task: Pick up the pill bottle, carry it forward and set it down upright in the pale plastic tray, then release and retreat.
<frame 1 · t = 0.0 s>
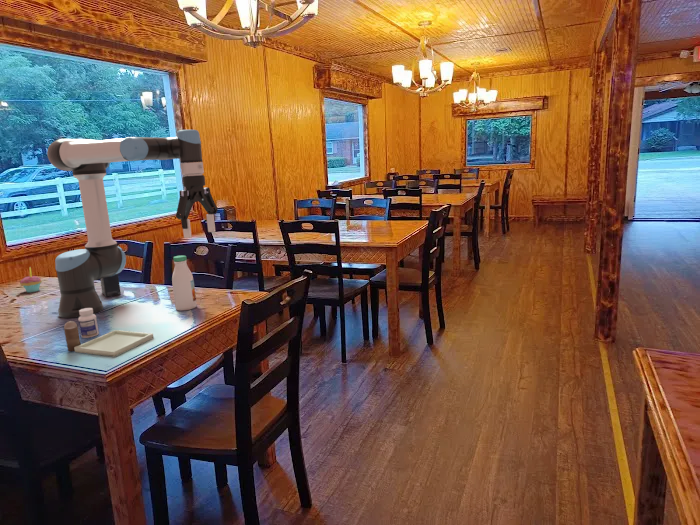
hand: (200, 234, 181), 28 cm above the table, fingers open, 13 cm apart
small box: (111, 294, 219), on the table
tray: (115, 344, 154), on the table
cupcake: (32, 291, 232), on the table
milk bottle: (186, 308, 190), on the table
pepper shaker: (74, 349, 152), on the table
pill bottle: (90, 336, 165), on the table
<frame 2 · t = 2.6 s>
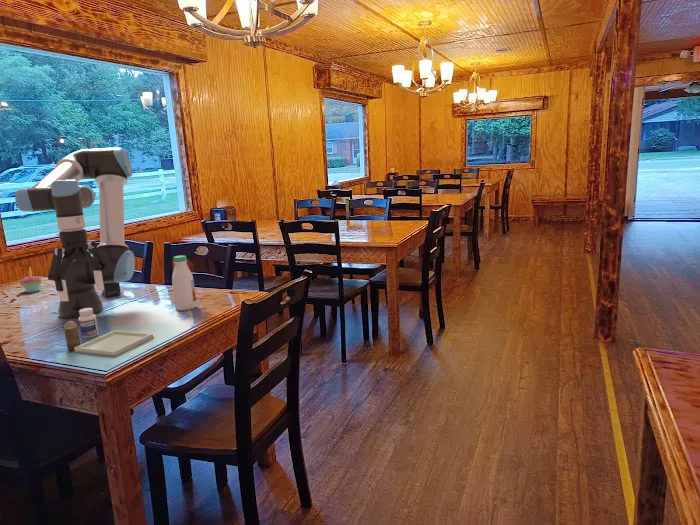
hand: (83, 295, 162), 14 cm above the table, fingers open, 13 cm apart
nothing on the table moved.
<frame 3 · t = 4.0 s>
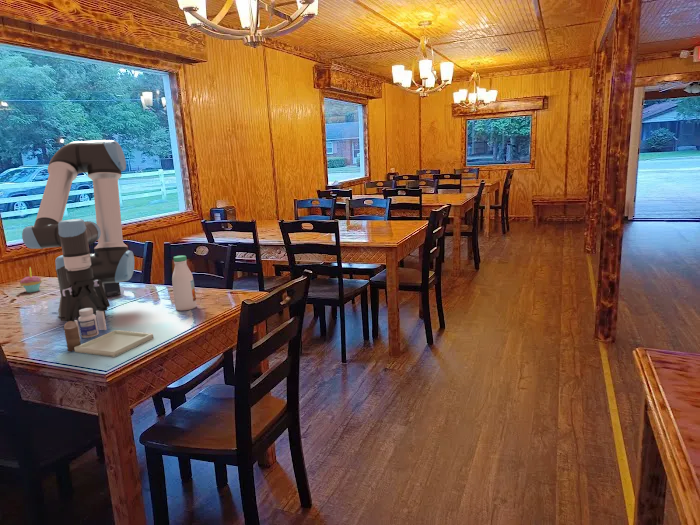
hand: (90, 334, 165), 0 cm above the table, fingers open, 9 cm apart
nothing on the table moved.
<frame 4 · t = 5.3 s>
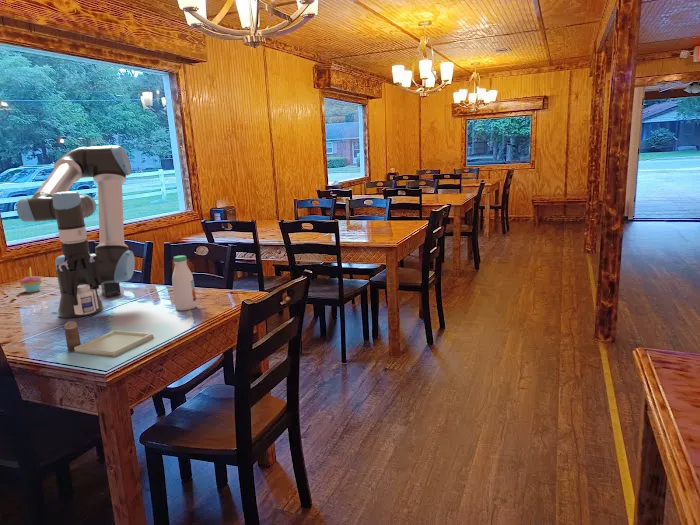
hand: (87, 311, 164), 8 cm above the table, fingers closed on pill bottle, 5 cm apart
pill bottle: (87, 312, 164), point 8 cm above the table, touching gripper
everything else where it was.
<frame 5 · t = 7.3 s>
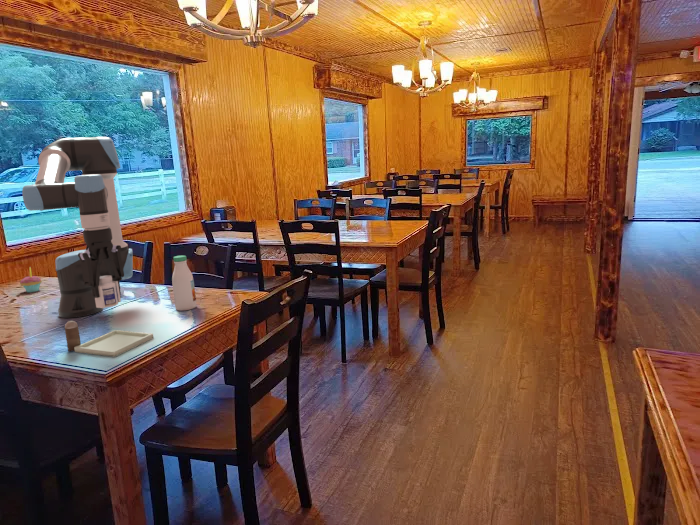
hand: (108, 304, 152), 13 cm above the table, fingers closed on pill bottle, 5 cm apart
pill bottle: (109, 306, 152), point 12 cm above the table, touching gripper
everything else where it was.
when the fingers open (2 cm above the table, at t = 9.4 s): pill bottle drops 1 cm, resting on tray.
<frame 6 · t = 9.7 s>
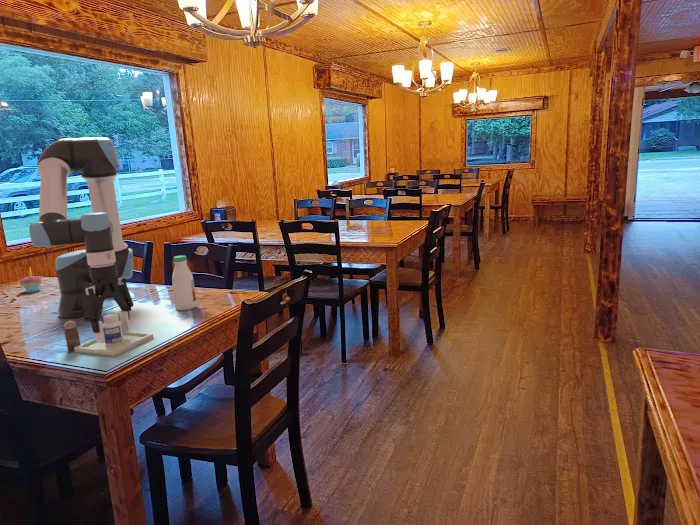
hand: (113, 336, 154), 3 cm above the table, fingers open, 9 cm apart
pill bottle: (114, 343, 154), resting on tray
everything else where it was.
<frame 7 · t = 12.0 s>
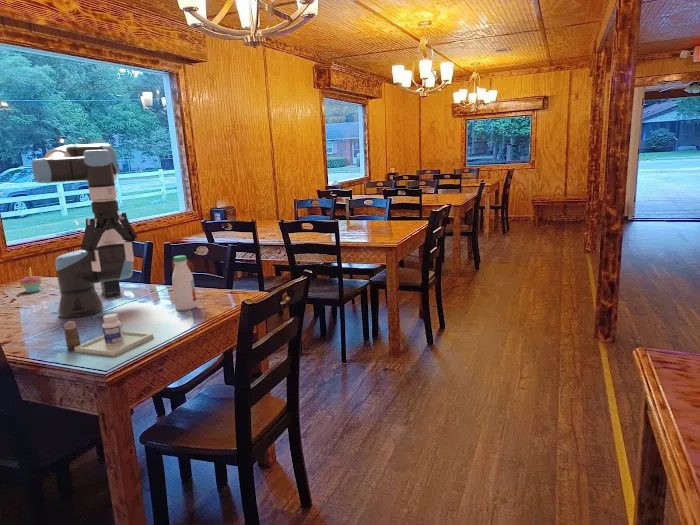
hand: (114, 266, 162), 22 cm above the table, fingers open, 13 cm apart
nothing on the table moved.
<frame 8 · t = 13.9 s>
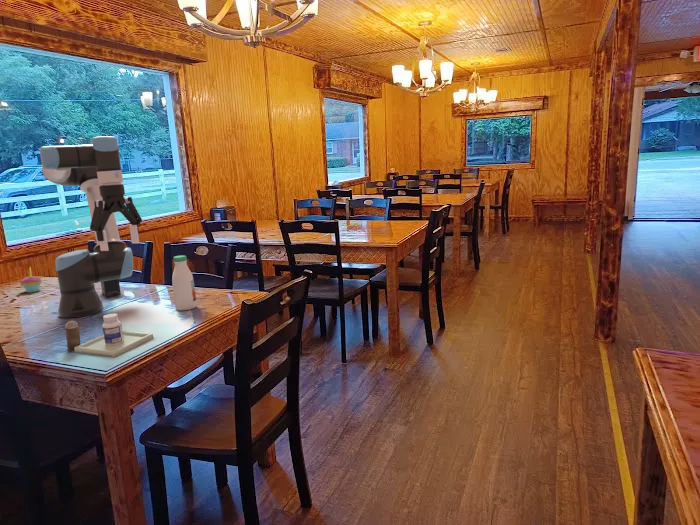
hand: (120, 247, 172), 27 cm above the table, fingers open, 13 cm apart
nothing on the table moved.
at the end: pill bottle inside the target area on the tray (0.0 cm from its centre), point 0.4 cm above the tray's base; pill bottle tilted 0°; the gripper is holding nothing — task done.
